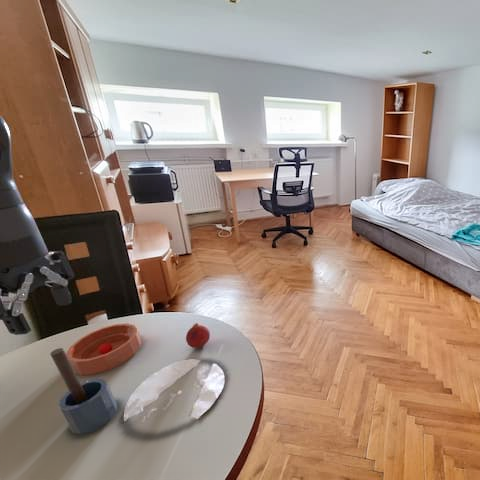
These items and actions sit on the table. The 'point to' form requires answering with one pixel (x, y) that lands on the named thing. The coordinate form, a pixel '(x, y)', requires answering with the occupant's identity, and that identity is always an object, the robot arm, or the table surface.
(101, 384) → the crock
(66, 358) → the stick
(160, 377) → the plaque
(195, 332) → the onion
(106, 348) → the tomato
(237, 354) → the table surface
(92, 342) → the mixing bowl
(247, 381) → the table surface
